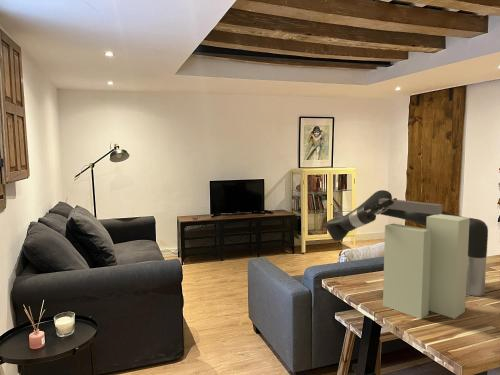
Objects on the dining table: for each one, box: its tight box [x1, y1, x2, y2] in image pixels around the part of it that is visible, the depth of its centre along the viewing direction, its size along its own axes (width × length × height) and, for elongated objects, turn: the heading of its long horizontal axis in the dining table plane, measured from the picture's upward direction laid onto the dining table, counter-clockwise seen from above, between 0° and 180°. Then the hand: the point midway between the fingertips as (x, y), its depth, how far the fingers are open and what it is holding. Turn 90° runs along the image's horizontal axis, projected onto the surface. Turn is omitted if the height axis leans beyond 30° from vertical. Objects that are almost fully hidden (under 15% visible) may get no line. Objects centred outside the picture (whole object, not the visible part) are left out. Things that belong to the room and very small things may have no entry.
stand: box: [425, 214, 471, 319], centre depth 147 cm, size 10×12×38 cm
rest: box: [382, 223, 432, 320], centre depth 147 cm, size 6×16×34 cm, turn 39°
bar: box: [379, 198, 443, 215], centre depth 144 cm, size 4×24×4 cm, turn 39°
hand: (394, 200), depth 149 cm, fingers closed on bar, 3 cm apart
